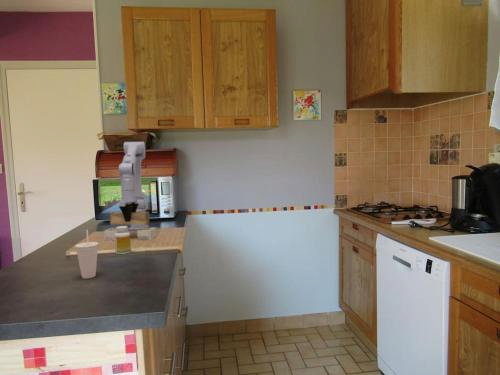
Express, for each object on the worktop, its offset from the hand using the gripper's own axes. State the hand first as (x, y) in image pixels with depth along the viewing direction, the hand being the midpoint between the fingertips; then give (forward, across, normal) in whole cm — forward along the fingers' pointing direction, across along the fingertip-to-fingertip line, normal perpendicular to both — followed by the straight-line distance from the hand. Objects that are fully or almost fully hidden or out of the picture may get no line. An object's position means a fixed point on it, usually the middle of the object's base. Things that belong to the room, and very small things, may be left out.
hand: (129, 220), depth 154 cm
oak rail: (+2, 0, 0) cm, 2 cm away
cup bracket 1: (+8, 0, -7) cm, 11 cm away
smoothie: (+8, +52, +8) cm, 53 cm away
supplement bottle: (+8, +24, +7) cm, 27 cm away
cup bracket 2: (+8, 0, +7) cm, 11 cm away
